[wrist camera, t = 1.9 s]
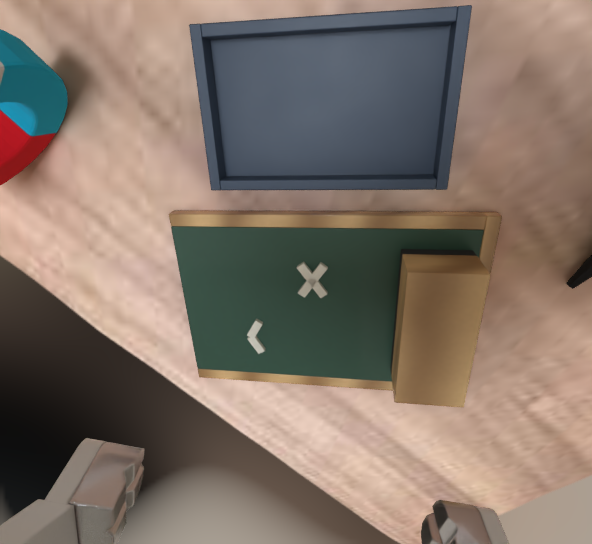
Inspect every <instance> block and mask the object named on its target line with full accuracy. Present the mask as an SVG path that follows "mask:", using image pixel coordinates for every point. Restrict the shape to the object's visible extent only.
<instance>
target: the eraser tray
mask: <svg viewBox="0 0 592 544" xmlns="http://www.w3.org/2000/svg"><path fill="white" fill-rule="evenodd" d="M471 9H472V6H471V5H467V6H458V7H457V6H454V7H440V8H425V9H410V10H396V11H381V12H366V13H351V14H337V15H322V16H307V17H293V18H278V19H263V20H249V21H234V22H219V23H204V24H190V25H189V27H190V34H191V42H192V49H193V57H194V64H195V72H196V79H197V87H198V94H199V102H200V109H201V116H202V124H203V131H204V139H205V146H206V154H207V161H208V169H209V176H210V184H211V190H417V189H437V190H446V189H447V186H448V179H449V172H450V164H451V157H452V149H453V142H454V135H455V127H456V120H457V112H458V105H459V98H460V90H461V83H462V75H463V68H464V61H465V53H466V46H467V38H468V31H469V24H470V16H471Z"/></svg>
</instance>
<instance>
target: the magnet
mask: <svg viewBox="0 0 592 544" xmlns="http://www.w3.org/2000/svg"><path fill="white" fill-rule="evenodd" d="M67 105H68V97H67V90H66V88H65V85H64V83H63V80H62V79H61V78H60V77H59V76H58V75H57V74H56V73H55V72H54V71H53V70H52V69H51V68H50V67H49V66H48V65H47V64H46V63H45V62H44V61H43V60H42V59H41V58H40V57H38V56H37V55H36V54H35V53H34V52H33V51H32V50H31V49H30V48H29V47H28V46H27V45H26V44H25V43H24V42H23V41H21V40H20V39H19V38H17V37H15V36H13V35H11V34H9V33H7V32H6V31H3V30H1V29H0V185H2V184H4V183H5V182H7V181H8V180H10V179H11V178H12V177H14V176H15V175H17V174H18V173H19V172H21V171H22V170H23V169H24V168H25V167H27V166H28V165H29V164H30V163H31V162H32V161H33V160H35V159H36V157H37V156H38V155H39V154H40V153H41V152H42V151H43V150H44V149H45V148H46V147H47V146H48V144H49V143H50V141H51V140H52V139H53V137H54V136H55V134H56V133H57V131H58V129H59V127H60V125H61V123H62V121H63V119H64V116H65V113H66V109H67Z"/></svg>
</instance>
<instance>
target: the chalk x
mask: <svg viewBox="0 0 592 544" xmlns="http://www.w3.org/2000/svg"><path fill="white" fill-rule="evenodd" d="M297 269H298V270H299V272H300V273H301V274H302V275H303V277H304V278H305V279H306V281H305V283H304V284H303V285H302V287H301V288H300V289H299V290H298V294H300V295H301V296H303V297H304V298H305V297H306V295H307V294H308V293H309V292H310V290H311V289H312V288H313V289H314V291H315V292H316V293H317V294H318V296H319V297H320V298H322V297H324V296H325V295H327V294H328V292H327V290H326V289H325V288H324V286H323V285H322V284H321V283H320V281H319V279H320V278H321V276H322V275H323V274H324V273H325V271H326V270H327V269H328V266H326V265H325V264H323V263H321V262H320V263H319V264H318V266H317V267H316V268H315V270H314V271H313V272H312V271H311V270H310V268H309V267H308V266H307V265H306V263H305V262H302V263H301V264H299V265H298V266H297Z"/></svg>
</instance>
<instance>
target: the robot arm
mask: <svg viewBox="0 0 592 544" xmlns="http://www.w3.org/2000/svg"><path fill="white" fill-rule="evenodd" d="M143 458H144V449H143V448H137V447H131V446H126V445H120V444H114V443H109V442H105V441H100V440H94V439H88V438H86V439H85V440H84V441H82V442H81V443H80V445H79V446H78V448H77V449H76V451H75V453H74V454H73V456H72V457H71V459H70V460H69V462H68V464H67V465H66V467H65V468H64V470H63V471H62V473H61V475H60V476H59V478H58V479H57V481H56V483H55V484H54V486H53V487H52V489H51V491H50V492H49V494H48V495H47V497H46V498H45V500H40V499H38V500H37V501H35V502H34V503H32V504H31V505H29V506H28V507H27V508H25V509H24V510H22V511H21V512H19V513H18V514H16V515H15V516H13V517H12V518H10V519H9V520H7V521H6V522H4V523H3V524H2V525H0V544H118V541H119V539H120V537H121V534H122V531H123V529H124V527H125V525H126V511H127V510H128V509H129V508H131V507H132V506H133V505H134V503H135V501H136V498H137V496H138V493H139V489H140V487H141V483H142V479H143V474H144V467H143V466H142V465H141V463H142V461H143ZM433 510H434V513H431V514H429V515H427V516H426V518H425V519H424V521H423V523H422V530H421V539H422V544H509V542H508V540H507V537H506V535H505V532H504V530H503V528H502V525H501V523H500V520H499V518H498V516H497V514H496V513H495V511H494V510H492V509H490V508H485V507H478V506H473V505H469V504H462V503H456V502H449V501H443V500H439V501H436V502H435V504H434V505H433Z"/></svg>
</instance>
